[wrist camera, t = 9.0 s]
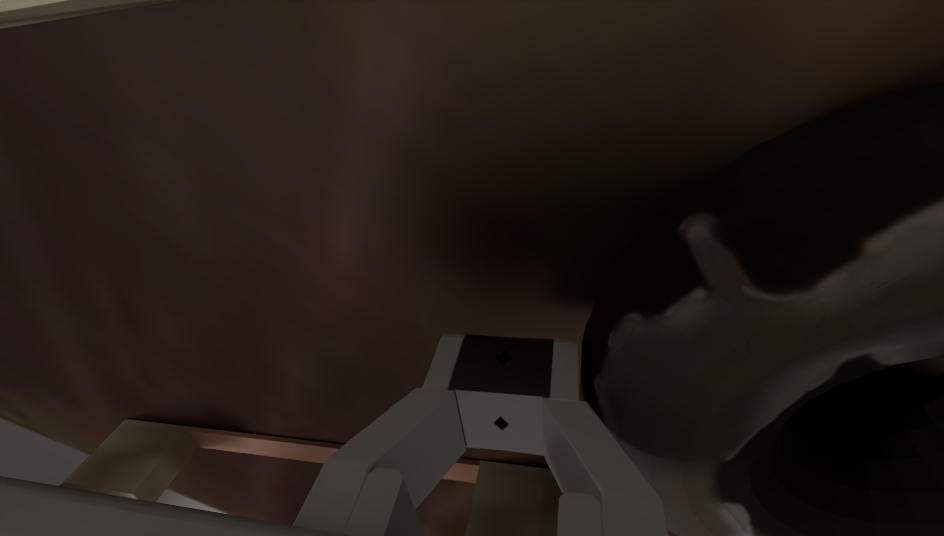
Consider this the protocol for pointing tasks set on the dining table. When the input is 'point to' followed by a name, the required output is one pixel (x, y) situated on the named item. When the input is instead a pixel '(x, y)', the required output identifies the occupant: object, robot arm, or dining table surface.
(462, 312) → the dining table surface
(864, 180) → the donut
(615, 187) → the dining table surface
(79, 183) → the dining table surface
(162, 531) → the robot arm
